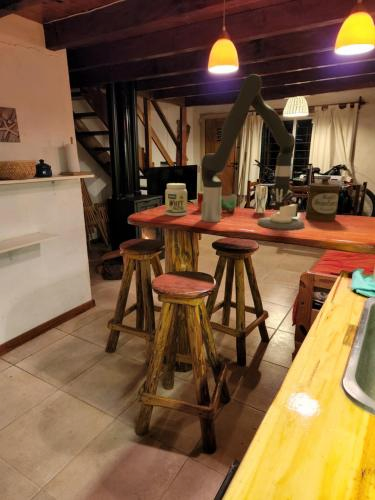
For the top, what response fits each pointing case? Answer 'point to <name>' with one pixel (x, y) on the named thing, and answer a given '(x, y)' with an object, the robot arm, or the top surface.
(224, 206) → the food container
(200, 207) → the canned food
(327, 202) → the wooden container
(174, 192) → the supplement tub
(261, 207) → the beer glass
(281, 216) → the dial lever
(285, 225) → the dial base
